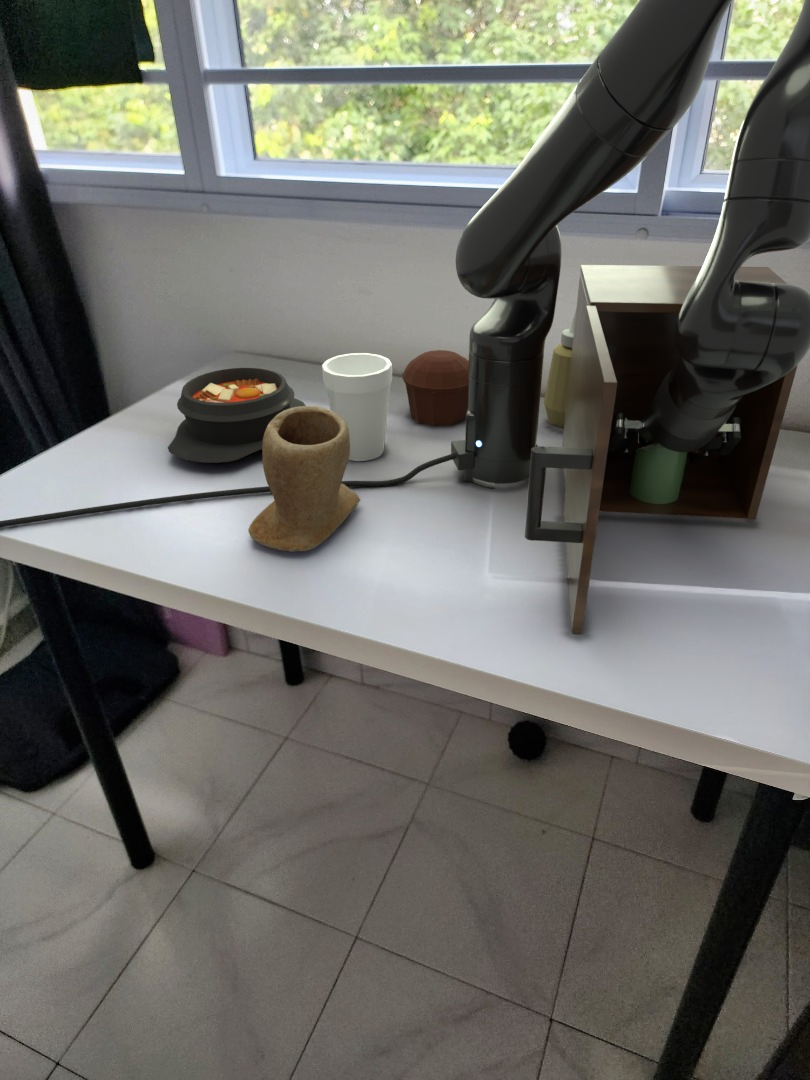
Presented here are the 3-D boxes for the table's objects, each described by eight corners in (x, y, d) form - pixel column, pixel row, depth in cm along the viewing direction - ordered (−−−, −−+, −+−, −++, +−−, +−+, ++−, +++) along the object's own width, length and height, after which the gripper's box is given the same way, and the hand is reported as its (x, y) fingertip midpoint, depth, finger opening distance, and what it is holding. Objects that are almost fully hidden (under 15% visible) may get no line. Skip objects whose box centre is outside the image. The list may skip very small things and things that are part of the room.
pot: (629, 503, 92) (641, 430, 87) (624, 478, 98) (635, 408, 93) (685, 506, 92) (700, 432, 86) (676, 481, 97) (690, 410, 92)
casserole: (252, 484, 101) (243, 426, 96) (138, 463, 106) (126, 408, 102) (333, 414, 120) (329, 363, 116) (234, 399, 126) (226, 351, 121)
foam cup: (404, 443, 110) (403, 358, 103) (376, 470, 103) (372, 380, 96) (348, 433, 114) (342, 349, 107) (317, 458, 107) (309, 371, 100)
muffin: (395, 426, 115) (393, 364, 110) (410, 399, 125) (409, 340, 119) (471, 432, 113) (473, 368, 108) (481, 404, 122) (484, 344, 117)
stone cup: (324, 570, 83) (312, 448, 75) (236, 546, 88) (216, 428, 80) (385, 507, 95) (381, 395, 87) (305, 489, 99) (294, 381, 91)
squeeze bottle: (603, 421, 116) (618, 303, 106) (583, 440, 110) (598, 318, 100) (554, 411, 119) (565, 296, 110) (533, 429, 114) (542, 309, 104)
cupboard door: (517, 629, 74) (537, 380, 60) (519, 515, 92) (535, 304, 78) (582, 634, 73) (617, 382, 59) (570, 518, 91) (596, 305, 77)
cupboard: (753, 526, 89) (814, 306, 75) (566, 516, 92) (590, 302, 78) (722, 462, 103) (768, 266, 89) (561, 455, 106) (580, 264, 92)
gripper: (763, 372, 78) (717, 429, 93) (622, 369, 79) (600, 425, 95) (765, 441, 76) (717, 487, 92) (620, 436, 78) (598, 481, 94)
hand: (657, 455), depth 93 cm, fingers open, 8 cm apart
